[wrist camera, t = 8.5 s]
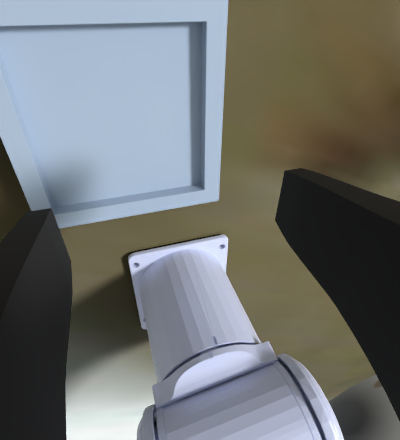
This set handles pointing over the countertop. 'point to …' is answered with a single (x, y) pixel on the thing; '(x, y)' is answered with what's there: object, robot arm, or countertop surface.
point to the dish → (113, 104)
